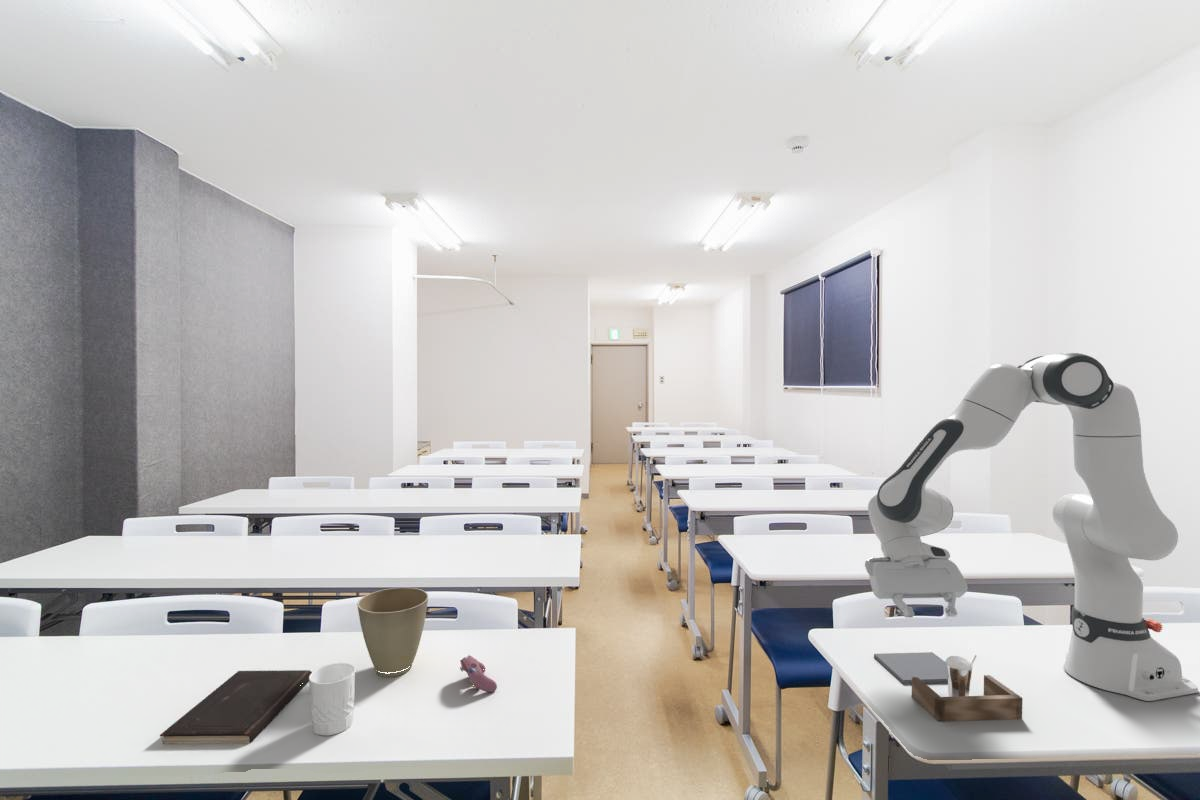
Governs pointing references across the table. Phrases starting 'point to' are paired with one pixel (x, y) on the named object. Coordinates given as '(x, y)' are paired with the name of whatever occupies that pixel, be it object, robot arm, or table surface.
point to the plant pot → (393, 627)
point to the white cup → (332, 698)
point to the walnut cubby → (970, 702)
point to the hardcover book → (238, 708)
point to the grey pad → (915, 666)
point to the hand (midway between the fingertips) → (931, 616)
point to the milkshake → (958, 675)
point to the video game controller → (477, 674)
